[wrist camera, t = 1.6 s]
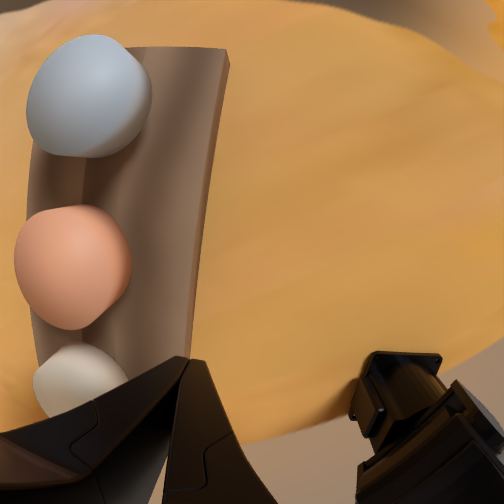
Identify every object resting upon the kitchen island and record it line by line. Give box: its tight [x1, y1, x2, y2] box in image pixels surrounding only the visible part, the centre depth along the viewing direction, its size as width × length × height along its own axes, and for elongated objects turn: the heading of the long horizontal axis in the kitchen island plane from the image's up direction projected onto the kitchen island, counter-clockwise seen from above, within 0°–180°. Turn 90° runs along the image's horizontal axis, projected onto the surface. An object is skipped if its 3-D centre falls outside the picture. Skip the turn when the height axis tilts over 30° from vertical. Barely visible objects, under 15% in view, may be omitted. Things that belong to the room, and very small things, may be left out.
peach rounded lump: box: [14, 204, 132, 330], centre depth 16 cm, size 6×6×6 cm
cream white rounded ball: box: [33, 342, 129, 418], centre depth 18 cm, size 6×6×6 cm
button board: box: [26, 47, 230, 380], centre depth 19 cm, size 12×25×2 cm, turn 171°
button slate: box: [26, 34, 152, 158], centre depth 14 cm, size 6×6×6 cm
